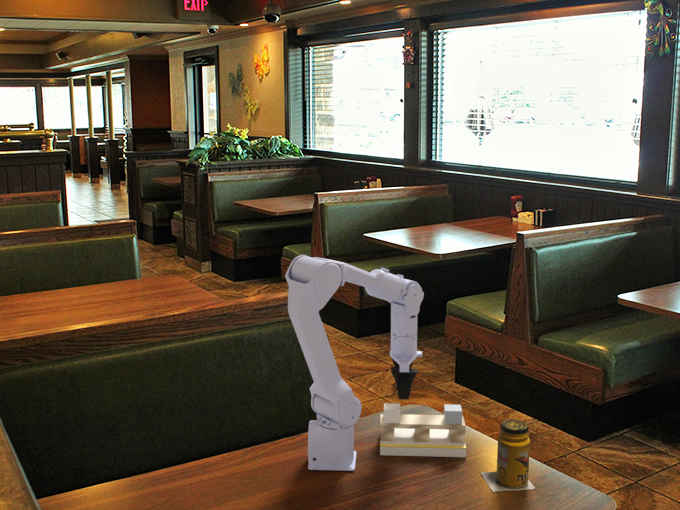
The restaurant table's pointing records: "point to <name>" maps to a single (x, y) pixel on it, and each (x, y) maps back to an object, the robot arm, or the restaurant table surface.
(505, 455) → the condiment
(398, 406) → the block
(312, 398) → the robot arm
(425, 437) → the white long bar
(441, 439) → the dock
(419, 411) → the restaurant table surface
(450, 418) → the light grey square block
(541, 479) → the restaurant table surface
